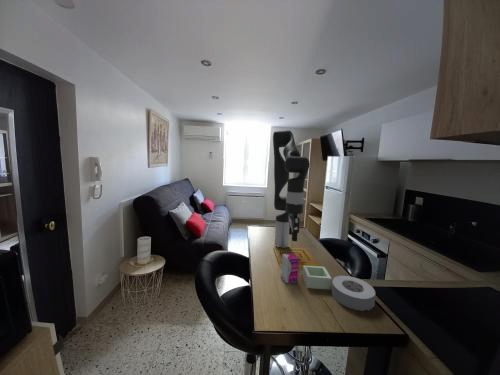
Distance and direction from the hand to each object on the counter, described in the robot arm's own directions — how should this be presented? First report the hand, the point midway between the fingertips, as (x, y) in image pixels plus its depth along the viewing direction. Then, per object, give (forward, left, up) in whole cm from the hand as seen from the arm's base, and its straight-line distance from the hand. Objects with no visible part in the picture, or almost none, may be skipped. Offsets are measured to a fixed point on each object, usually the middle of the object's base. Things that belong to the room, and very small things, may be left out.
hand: (292, 237), depth 86 cm
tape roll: (+9, +23, -21) cm, 32 cm away
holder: (0, +11, -20) cm, 23 cm away
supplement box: (0, -1, -20) cm, 20 cm away
